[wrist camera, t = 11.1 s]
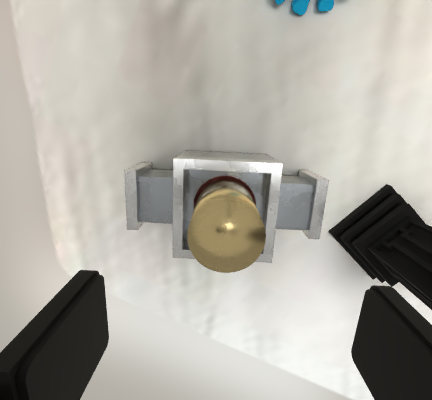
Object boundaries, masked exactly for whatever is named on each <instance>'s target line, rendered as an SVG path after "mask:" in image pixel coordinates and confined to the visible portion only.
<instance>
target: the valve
mask: <svg viewBox="0 0 432 400" xmlns="http://www.w3.org/2000/svg"><path fill="white" fill-rule="evenodd" d="M282 167H283V163H281V162H279V161H277V160H276V159H274V158H272V157H270V156H269V155H267V154H253V153H233V152H212V151H192V150H186V151H184V152H183V153H181V154H179V155H178V156H176V157H175V158H173V170H160V169H152V163H147V162H142V163H140V164H137V165H135V166H133V167H130V168H128V169H126V170H124V172H125V194H126V217H127V229H128V230H138V229H139V228H140V227H141V225H142V224H143V223H144V222H153V223H173V258H190V259H196V258H195V257H194V256H193V254H192V253H191V251H190V248H189V245H188V240H187V233H188V227H189V224H190V221H191V218H192V215H193V212H194V209H195V206H196V203H197V200H198V197H199V195H200V193H201V191H202V190H203V188H204V187H205V186H207V185H208V184H209V183H211V182H213V181H215V180H219V179H232V180H235V181H238V182H239V183H241V184H242V185H244V186H245V187H246V188H247V190H248V191H249V193H250V194H251V197H252V199H253V201H254V203H255V206H256V208H257V210H258V212H259V215H260V217H261V219H262V221H263V224H264V227H265V231H266V241H265V245H264V249H263V251H262V253H261V254H260V256H259V257H258V259H257V260H256V261H255V262H268V263H272V256H273V247H274V238H275V229H292V230H302V231H303V232H304V233H305V235H306V236H307V237H308V239H319V238H320V232H321V226H322V220H323V213H324V207H325V201H326V195H327V188H328V182H329V180H327V179H325V178H323V177H321V176H319V175H317V174H315V173H313V172H311V171H309V170H299V176H282Z"/></svg>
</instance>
